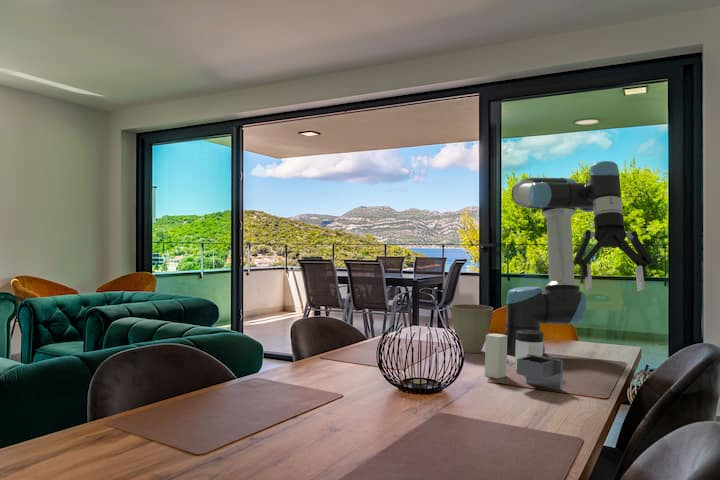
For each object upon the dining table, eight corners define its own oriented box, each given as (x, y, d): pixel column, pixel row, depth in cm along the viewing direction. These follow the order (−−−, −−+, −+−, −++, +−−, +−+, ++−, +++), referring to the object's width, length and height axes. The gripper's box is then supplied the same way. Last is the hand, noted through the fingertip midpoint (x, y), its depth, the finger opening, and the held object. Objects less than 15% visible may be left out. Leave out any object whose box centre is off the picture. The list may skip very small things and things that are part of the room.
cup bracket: (528, 382, 155) (529, 353, 155) (562, 389, 148) (563, 360, 148) (512, 387, 149) (512, 358, 149) (546, 395, 142) (547, 365, 142)
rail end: (493, 373, 165) (494, 333, 165) (506, 376, 161) (507, 335, 161) (484, 375, 161) (485, 334, 161) (498, 378, 158) (499, 337, 158)
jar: (549, 371, 168) (550, 332, 168) (534, 375, 163) (534, 335, 163) (523, 365, 175) (524, 328, 175) (508, 369, 170) (509, 330, 170)
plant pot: (447, 353, 191) (448, 307, 191) (452, 345, 205) (453, 303, 205) (491, 357, 187) (492, 310, 187) (493, 348, 201) (494, 305, 201)
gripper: (566, 209, 150) (572, 285, 145) (660, 211, 149) (669, 288, 143) (558, 218, 158) (563, 291, 152) (648, 220, 156) (656, 293, 150)
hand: (615, 290), depth 147 cm, fingers open, 13 cm apart
